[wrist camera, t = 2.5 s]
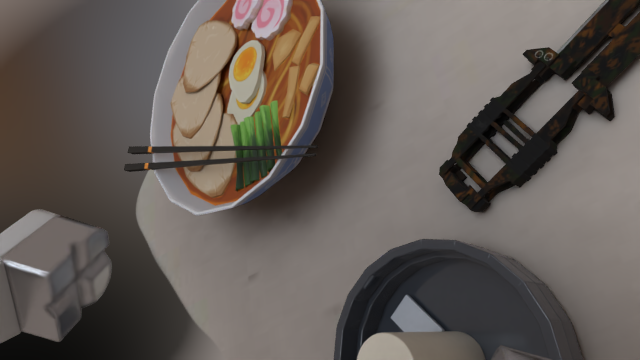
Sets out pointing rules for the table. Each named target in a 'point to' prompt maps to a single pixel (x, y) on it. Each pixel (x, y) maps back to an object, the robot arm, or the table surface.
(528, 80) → the knife
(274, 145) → the ramen bowl
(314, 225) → the table surface
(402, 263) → the dark grey round dish
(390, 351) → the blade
